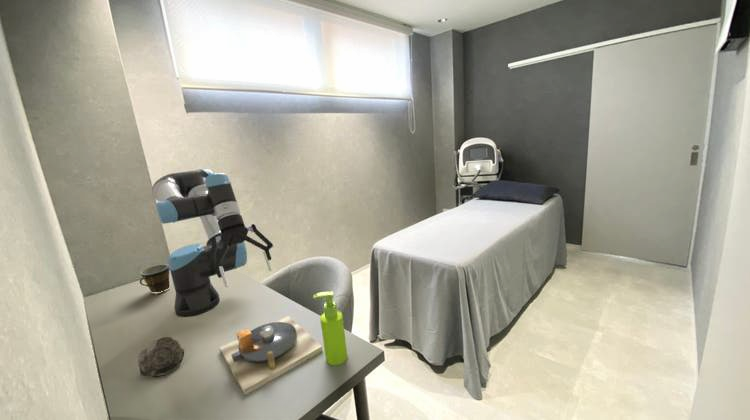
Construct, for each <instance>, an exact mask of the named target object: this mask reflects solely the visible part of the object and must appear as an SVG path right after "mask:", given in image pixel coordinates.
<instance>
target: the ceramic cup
mask: <svg viewBox="0 0 750 420" xmlns="http://www.w3.org/2000/svg"><path fill="white" fill-rule="evenodd" d="M140 275H141V278H140V280H139V284H140V285H141V286H146V287H148V288H149V291H150V293H151V292H161V291H164V290H166V289H168V288H169V287H170V270H169V264H163V263H162V264H157V265H154V266H150V267H148V268H147V267H146V268H144V269H143V270H142V271H140ZM143 281H144V282H145V283H143Z"/></svg>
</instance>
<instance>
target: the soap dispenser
mask: <svg viewBox="0 0 750 420" xmlns="http://www.w3.org/2000/svg"><path fill="white" fill-rule="evenodd" d="M334 297H335V292H334V291H321V292H317V293H315V294H313V297H312V299H313V300H317V299H322V298H325V303H324V304H323V313H322V314H321V315H320V317H319V320H320V325H321V327H320V328H321V333H322V341H323V347H324V354H325V361H326V363H328V365H331V366H339V365H341V364H343V363H345V362H346V361H347V358H348V351H347V343H346V341H347V340H346V335H345V326H344V325H345V324H344V317H343V313H342V312H341V311H340V310H338V307H337V302H335V301H334V300H333V298H334Z"/></svg>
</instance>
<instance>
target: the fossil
mask: <svg viewBox="0 0 750 420" xmlns="http://www.w3.org/2000/svg"><path fill="white" fill-rule="evenodd" d="M184 356H185V349H183V348H182V347H181V343H180V342H179V341H178V340H177V339H174V338H173V337H171V336H169V335H167V336H166V335H164V336H161V337H159V338H156V339H154V340H153V341H152V342H150V343H149V344H148V345H146V346H144V347H143V348H142V349H141V350H140V352H139V355H138V361H137V364H138V367H139V373H140V375H143V376H145V377H146V376H147V377H152V378H161V377H165V376H168V375H170V374H171V373H173V372H174V371H176V370H177V368H178V367H180V365H181V363H182V361H183V359H184Z"/></svg>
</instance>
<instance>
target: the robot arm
mask: <svg viewBox="0 0 750 420" xmlns="http://www.w3.org/2000/svg"><path fill="white" fill-rule="evenodd" d="M151 192H152V196H153V197H154V199H155V200H157V201H158V202H157V203H156V204H155V206H156V212H157V214H158V218H159V222H160V223H162V224H170V223H177V222H180V221H181V222H182V221H187V220H190V219H196V218H199V219H200V220H201V223H202V226H203V229H204V230H205V231H204V232H205V234H206V236H207V241H206V244H205V246H203V245H202V244H201V243H194V244H193V243H191V244H189V245H188V244H187V245H186V246H185V245H184V246H182V247H181V248H180V247H179V248H178V249H175V250H174V251H172V252H171V253H170V254H169V256H168V257H167V263H168V264H167V265H169V273H170V275H171V279H172V282H173V283H172V284H173V288H174V290H175V297H174V298H175V299H174V306H173V309H174V312H175V315H176V316H177V317H179V318H191V317H196V316H200V315H203V314H204V313H207V312H209V311H211V310H213V309H214V308H216V307H217V306H218V305H219V303H220V301H221V298H220V294H219V293H218V291H217V289H216V288H215V286H214V285H213V284H212V282H211V278H210V277H213V276H216V275H217V278H219V279H221V278H222V281H223V284H224V287H225V288H229V283H228V279H227V276H226V272H229V271H232V270H237V269H238V268H241V267H244V266H245V265H246V264H247V262H248V253H247V252H248V251H247V247H246V242H247V243H249V244H252V245H253V246H255V247H256V248H259V249H261V250H262V254H263V256H264V261H265V263H266V265H267V269H268V271H269V272H271V271H272V267H271V265H270V262H269V261H271V260H272V256H271V253H270V249H272V248H274V245H273V243H272V242H271V241H270V240H269V239H268V238H267V237H266V236H265V235H264V234H263V233H262V232H260V230H259V229H257V226H256V224H255V223H253V224H251V225H250V226H248V227H247V226H246V225H245V222H244V218H243V215H241V210H240V207H239V204H238V200H237V199H236V196H235V192H234V189H233V187H232V182H231V180H230V178H229V175H227V174H226V173H225V172H215V173H214V172H213V171H212V170H210V169H207V168H205V169H202V168H201V169H200V168H199V169H196V170H190V171H182V172H180V171H179V172H174V173H173V172H171V173H169V174H166V175H163V176H162V177H160V178H158V179H157V180H156V181H155V182H154V183H153V185H152V188H151ZM248 232H251V233H254V234H255V235H256V236H257V237H258V238H259V239H260V240H261V241H262V242H263V243H264V244H265V245H264V244H263V243H261V242H259V241H257V240H255V239H254V238H252V237H250V236H248Z"/></svg>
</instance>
